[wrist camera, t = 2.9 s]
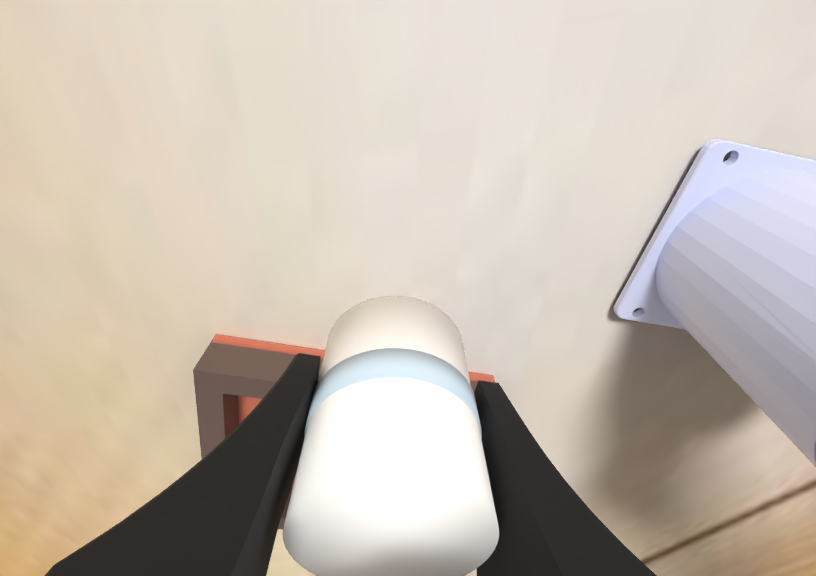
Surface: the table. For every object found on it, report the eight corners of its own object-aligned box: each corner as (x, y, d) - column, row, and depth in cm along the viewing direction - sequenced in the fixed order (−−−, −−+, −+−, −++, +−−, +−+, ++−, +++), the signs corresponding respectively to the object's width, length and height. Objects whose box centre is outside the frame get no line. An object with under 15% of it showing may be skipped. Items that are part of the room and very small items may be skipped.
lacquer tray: (493, 375, 21) (502, 413, 19) (439, 506, 28) (441, 545, 26) (216, 334, 20) (193, 370, 18) (223, 481, 26) (207, 521, 24)
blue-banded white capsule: (481, 307, 13) (533, 488, 8) (445, 408, 15) (467, 599, 10) (333, 283, 12) (284, 461, 7) (319, 392, 15) (276, 584, 10)
